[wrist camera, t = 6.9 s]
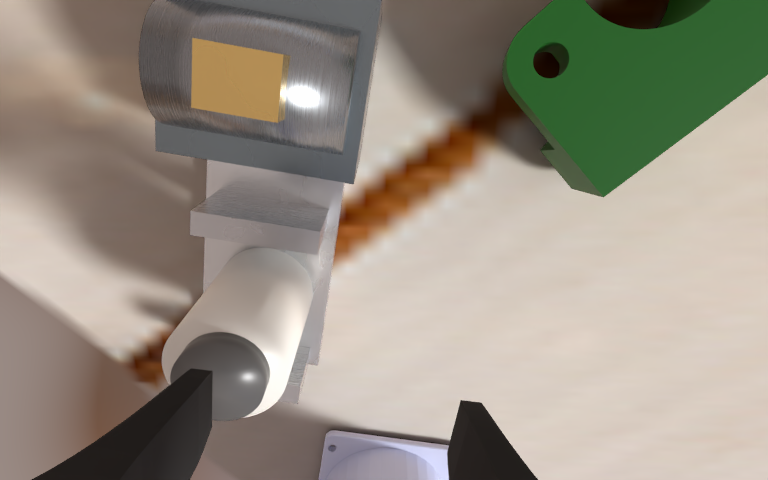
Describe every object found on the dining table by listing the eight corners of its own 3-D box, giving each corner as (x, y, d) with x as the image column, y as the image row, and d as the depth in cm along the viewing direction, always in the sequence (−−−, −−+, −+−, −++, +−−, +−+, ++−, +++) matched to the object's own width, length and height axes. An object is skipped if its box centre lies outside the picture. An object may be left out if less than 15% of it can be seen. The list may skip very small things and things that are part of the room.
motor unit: (328, 357, 24) (308, 469, 17) (197, 338, 24) (123, 446, 17) (381, 15, 18) (381, -17, 11) (207, -19, 18) (98, -74, 11)
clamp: (630, -40, 21) (858, -271, 12) (707, 58, 21) (988, -99, 12) (447, 110, 19) (561, -35, 10) (535, 215, 19) (721, 164, 10)
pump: (329, 278, 21) (307, 369, 15) (284, 344, 23) (246, 453, 16) (245, 229, 20) (183, 305, 14) (204, 301, 22) (130, 399, 15)
